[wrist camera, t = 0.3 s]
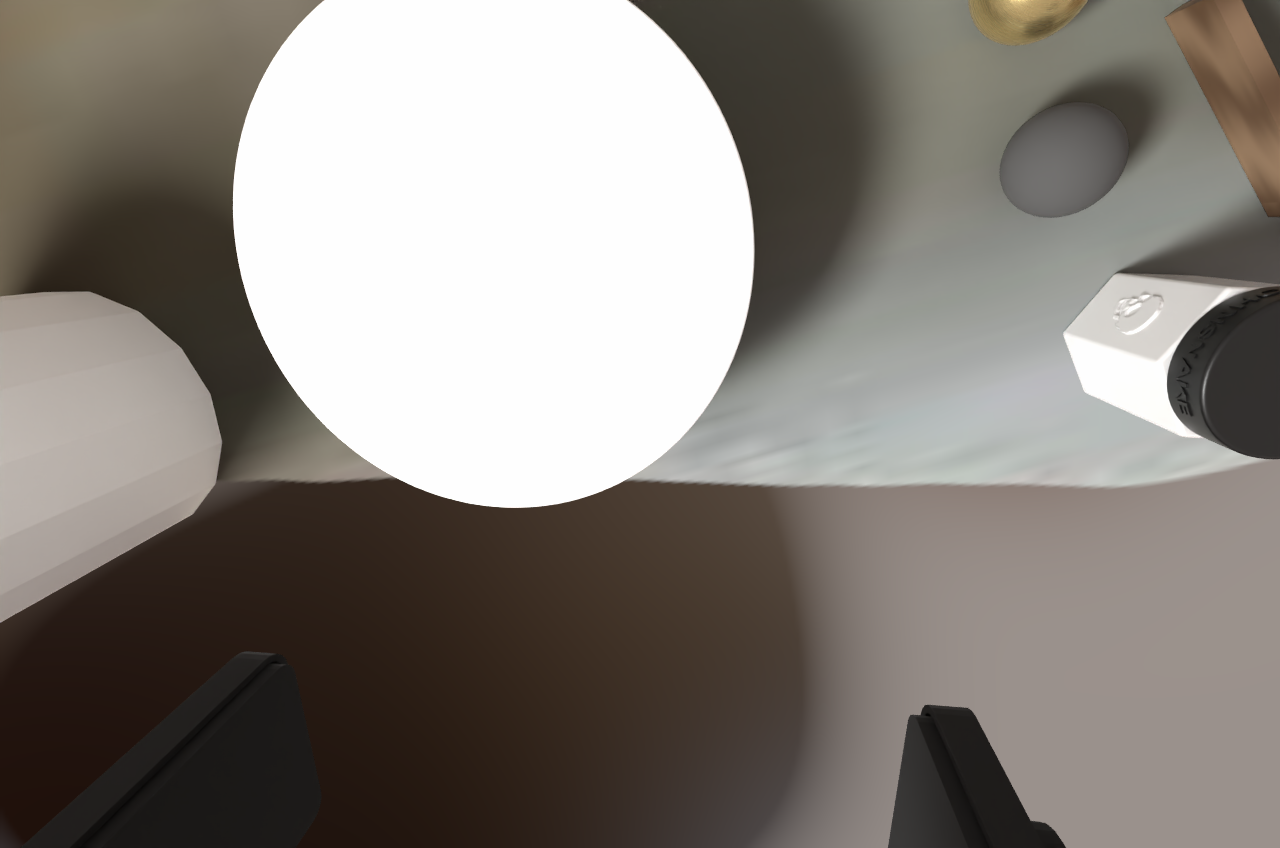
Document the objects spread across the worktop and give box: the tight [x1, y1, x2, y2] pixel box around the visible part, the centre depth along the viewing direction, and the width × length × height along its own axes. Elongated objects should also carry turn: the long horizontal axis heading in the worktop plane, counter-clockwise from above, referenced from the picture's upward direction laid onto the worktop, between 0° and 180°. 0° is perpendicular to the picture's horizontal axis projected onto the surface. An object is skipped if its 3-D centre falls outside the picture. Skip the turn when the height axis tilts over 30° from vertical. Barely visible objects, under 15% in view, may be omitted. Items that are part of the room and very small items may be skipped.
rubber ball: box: [1000, 102, 1129, 218], centre depth 35 cm, size 6×6×6 cm
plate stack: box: [233, 0, 755, 507], centre depth 38 cm, size 28×28×12 cm
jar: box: [1063, 273, 1280, 459], centre depth 34 cm, size 9×8×12 cm
